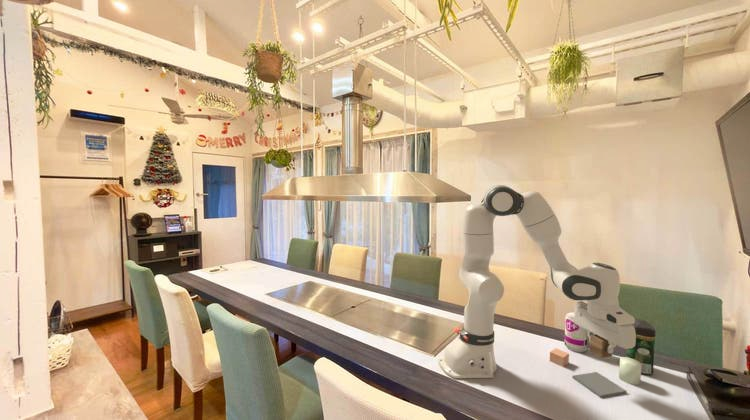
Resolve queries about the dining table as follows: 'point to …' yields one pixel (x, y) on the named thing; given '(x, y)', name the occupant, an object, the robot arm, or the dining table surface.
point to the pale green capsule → (630, 371)
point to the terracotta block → (559, 357)
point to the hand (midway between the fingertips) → (600, 347)
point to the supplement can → (574, 335)
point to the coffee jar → (643, 346)
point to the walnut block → (599, 346)
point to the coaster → (599, 384)
